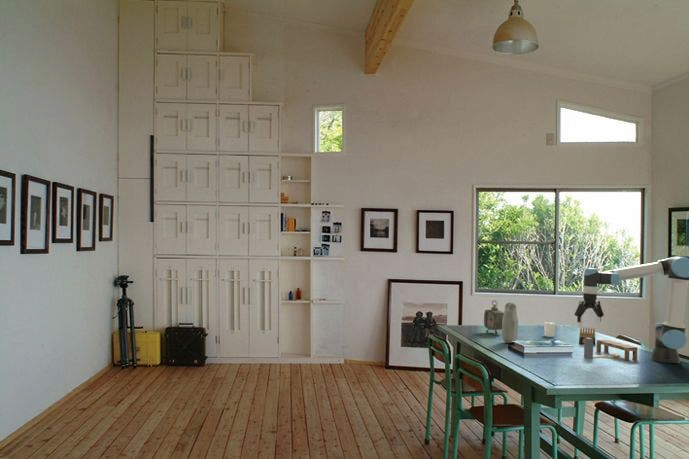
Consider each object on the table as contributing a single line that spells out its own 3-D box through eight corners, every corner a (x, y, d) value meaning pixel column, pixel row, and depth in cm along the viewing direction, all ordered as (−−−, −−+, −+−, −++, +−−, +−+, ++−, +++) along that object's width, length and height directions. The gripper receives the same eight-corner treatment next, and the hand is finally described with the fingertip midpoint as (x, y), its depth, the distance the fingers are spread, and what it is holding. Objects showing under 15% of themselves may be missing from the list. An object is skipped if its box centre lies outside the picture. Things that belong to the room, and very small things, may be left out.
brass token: (621, 357, 324) (621, 355, 324) (616, 357, 322) (616, 355, 322) (616, 355, 328) (616, 353, 328) (610, 356, 327) (610, 354, 327)
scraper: (590, 358, 315) (590, 339, 315) (582, 356, 321) (583, 337, 321) (613, 357, 321) (613, 338, 321) (605, 355, 326) (606, 336, 327)
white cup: (552, 335, 391) (552, 322, 391) (557, 337, 383) (557, 323, 383) (542, 335, 391) (542, 321, 391) (546, 337, 383) (546, 323, 383)
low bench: (637, 360, 315) (637, 347, 315) (626, 361, 313) (627, 347, 313) (606, 351, 338) (606, 339, 338) (596, 352, 335) (596, 339, 335)
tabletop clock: (483, 332, 395) (484, 299, 395) (493, 331, 398) (494, 299, 398) (494, 335, 381) (495, 301, 381) (505, 335, 384) (506, 301, 384)
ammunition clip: (594, 344, 361) (594, 327, 361) (595, 345, 359) (595, 327, 359) (578, 343, 362) (579, 326, 362) (579, 344, 360) (580, 327, 360)
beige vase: (498, 342, 358) (500, 301, 358) (510, 341, 361) (512, 301, 362) (508, 345, 349) (509, 303, 349) (520, 344, 352) (521, 303, 352)
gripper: (601, 292, 326) (600, 325, 326) (569, 292, 319) (567, 326, 319) (610, 293, 319) (609, 328, 319) (578, 293, 312) (576, 328, 311)
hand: (588, 327), depth 319 cm, fingers open, 13 cm apart
